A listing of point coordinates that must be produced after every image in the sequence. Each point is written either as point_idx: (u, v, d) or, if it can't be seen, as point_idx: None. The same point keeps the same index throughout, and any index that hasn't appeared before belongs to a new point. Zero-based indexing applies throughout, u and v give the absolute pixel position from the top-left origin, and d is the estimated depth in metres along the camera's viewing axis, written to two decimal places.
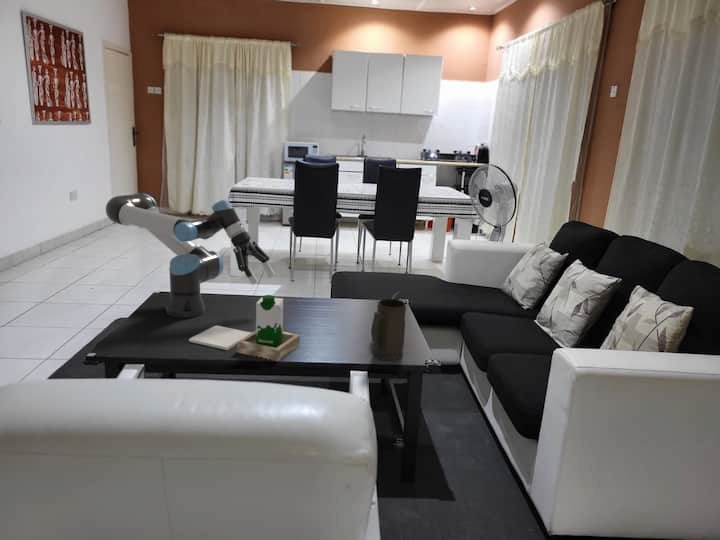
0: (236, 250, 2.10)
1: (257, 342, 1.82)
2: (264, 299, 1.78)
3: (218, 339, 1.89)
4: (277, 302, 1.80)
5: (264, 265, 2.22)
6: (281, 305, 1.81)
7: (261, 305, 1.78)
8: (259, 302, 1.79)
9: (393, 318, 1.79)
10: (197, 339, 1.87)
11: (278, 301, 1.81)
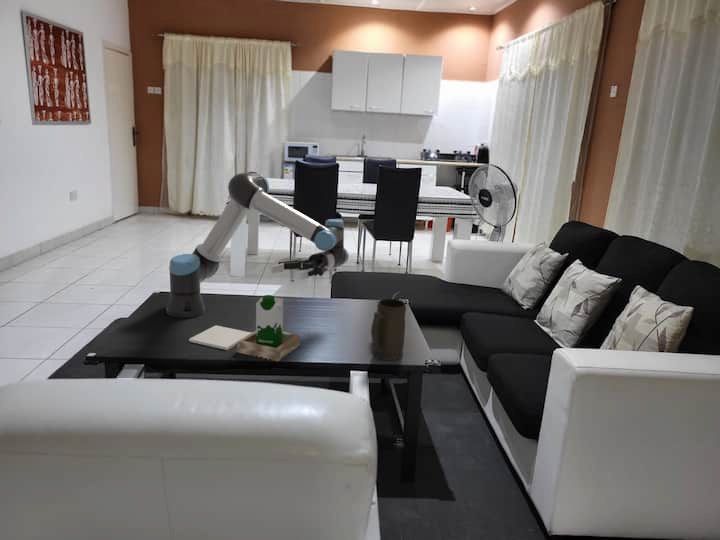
0: (326, 267, 1.98)
1: (257, 342, 1.82)
2: (264, 299, 1.78)
3: (218, 339, 1.89)
4: (277, 302, 1.80)
5: (282, 266, 1.96)
6: (281, 305, 1.81)
7: (261, 305, 1.78)
8: (259, 302, 1.79)
9: (393, 318, 1.79)
10: (197, 339, 1.87)
11: (278, 301, 1.81)
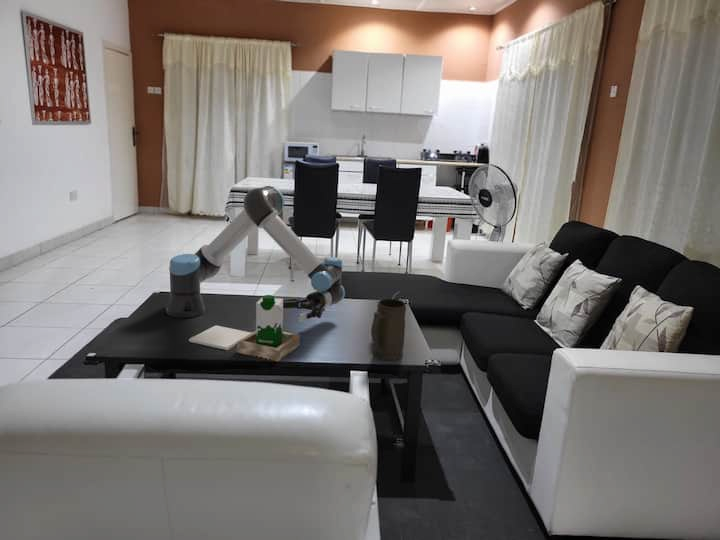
0: (324, 308, 1.99)
1: (257, 342, 1.82)
2: (264, 299, 1.78)
3: (218, 339, 1.89)
4: (277, 302, 1.80)
5: None
6: (281, 305, 1.81)
7: (261, 305, 1.78)
8: (259, 302, 1.79)
9: (393, 318, 1.79)
10: (197, 339, 1.87)
11: (278, 301, 1.81)
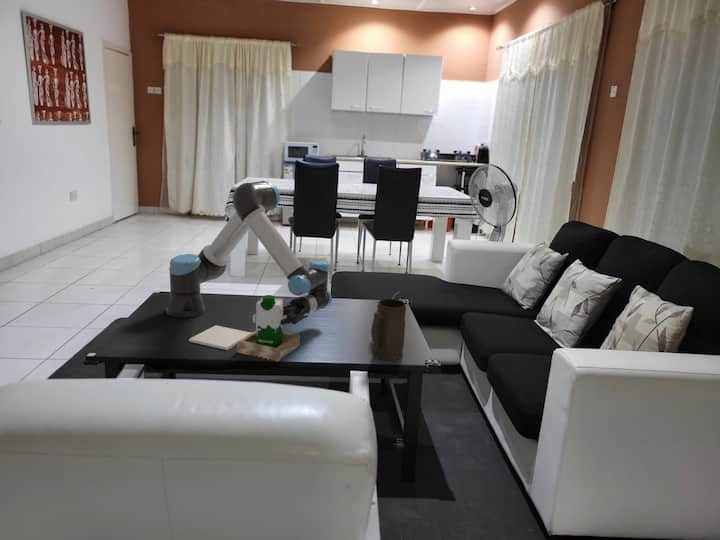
0: (305, 315, 1.91)
1: (257, 342, 1.82)
2: (264, 299, 1.77)
3: (218, 339, 1.89)
4: (277, 302, 1.80)
5: None
6: (281, 305, 1.81)
7: (261, 305, 1.78)
8: (259, 302, 1.79)
9: (393, 318, 1.79)
10: (197, 339, 1.87)
11: (278, 301, 1.81)
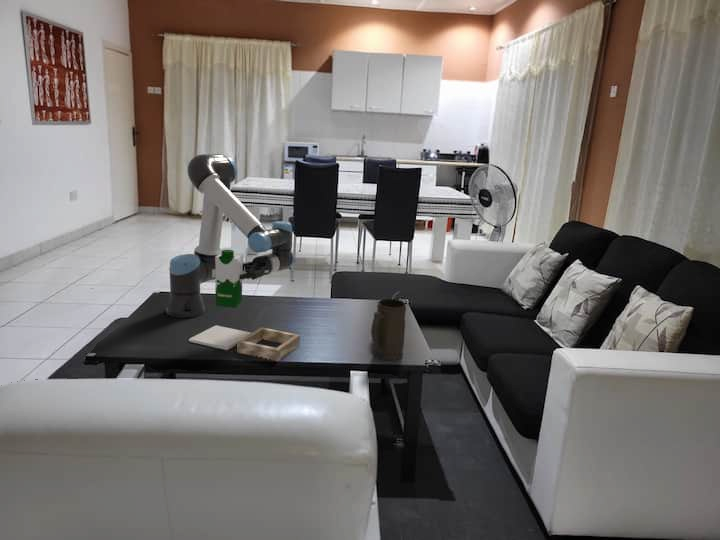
0: (266, 271, 1.92)
1: (216, 296, 1.84)
2: (223, 253, 1.79)
3: (218, 339, 1.89)
4: (236, 257, 1.82)
5: None
6: (240, 260, 1.83)
7: (220, 259, 1.80)
8: (218, 256, 1.81)
9: (393, 318, 1.79)
10: (197, 339, 1.87)
11: (237, 256, 1.83)
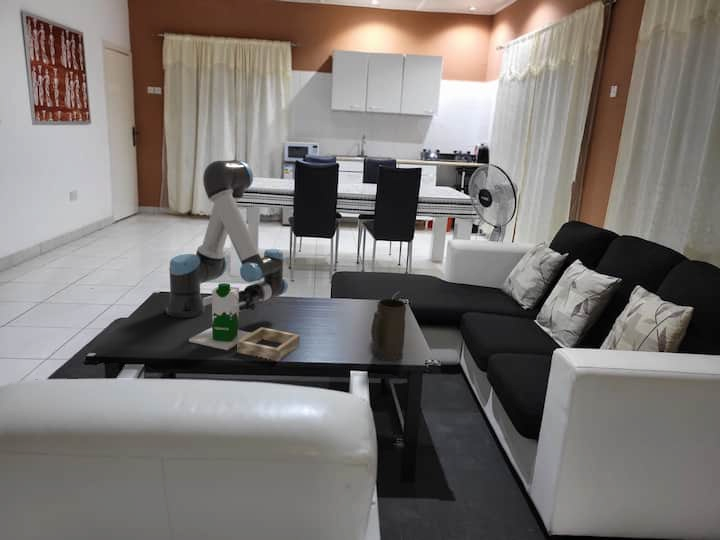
0: (260, 300, 1.97)
1: (213, 330, 1.86)
2: (220, 286, 1.83)
3: None
4: (233, 290, 1.86)
5: None
6: (237, 293, 1.87)
7: (217, 292, 1.83)
8: (215, 290, 1.84)
9: (393, 318, 1.79)
10: (197, 339, 1.87)
11: (234, 289, 1.87)
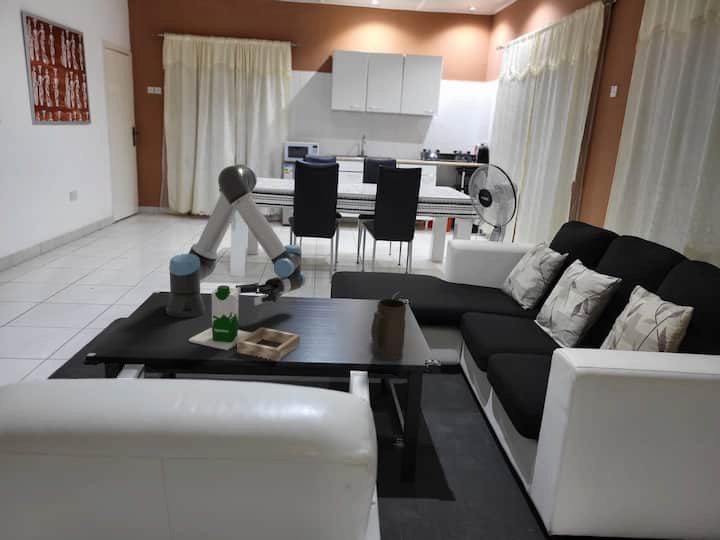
0: (281, 293, 2.08)
1: (213, 331, 1.86)
2: (219, 289, 1.82)
3: None
4: (232, 292, 1.84)
5: None
6: (236, 295, 1.86)
7: (216, 295, 1.82)
8: (214, 292, 1.83)
9: (393, 318, 1.79)
10: (197, 339, 1.87)
11: (233, 291, 1.85)
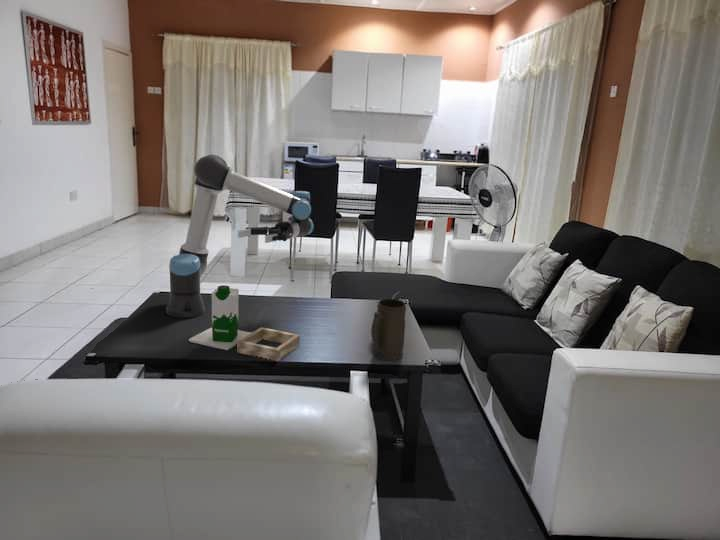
0: (290, 234, 2.11)
1: (213, 331, 1.86)
2: (219, 289, 1.82)
3: None
4: (232, 292, 1.84)
5: (249, 231, 2.09)
6: (236, 295, 1.86)
7: (216, 295, 1.82)
8: (214, 292, 1.83)
9: (393, 318, 1.79)
10: (197, 339, 1.87)
11: (233, 291, 1.85)
